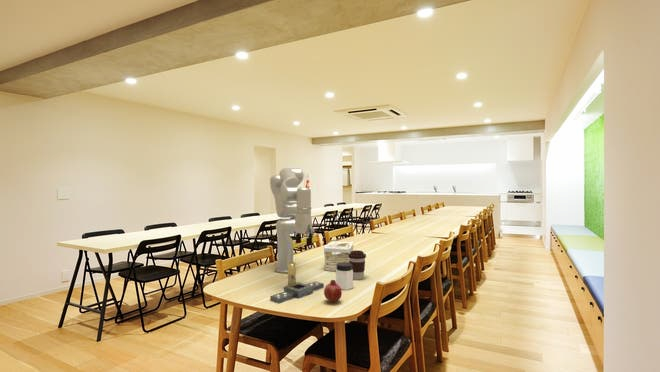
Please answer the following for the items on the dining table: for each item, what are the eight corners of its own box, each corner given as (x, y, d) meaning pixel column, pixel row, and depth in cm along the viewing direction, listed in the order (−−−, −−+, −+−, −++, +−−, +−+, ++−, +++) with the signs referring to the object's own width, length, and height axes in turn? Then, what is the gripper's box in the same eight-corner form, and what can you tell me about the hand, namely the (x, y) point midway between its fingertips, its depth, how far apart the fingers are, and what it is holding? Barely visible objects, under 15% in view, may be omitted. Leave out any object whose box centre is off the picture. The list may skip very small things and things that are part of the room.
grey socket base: (267, 299, 157) (267, 292, 157) (312, 284, 180) (312, 278, 180) (282, 304, 150) (282, 296, 150) (326, 288, 173) (326, 281, 173)
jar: (333, 289, 172) (333, 265, 172) (338, 284, 180) (338, 261, 180) (350, 290, 169) (350, 266, 169) (354, 285, 177) (354, 262, 177)
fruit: (333, 297, 159) (333, 276, 159) (345, 302, 153) (345, 280, 153) (320, 301, 154) (320, 279, 154) (332, 306, 148) (332, 283, 148)
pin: (286, 286, 176) (286, 263, 176) (292, 284, 179) (292, 261, 179) (291, 287, 174) (291, 264, 174) (297, 286, 177) (297, 263, 177)
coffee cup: (345, 279, 189) (345, 252, 189) (352, 274, 198) (352, 249, 198) (361, 281, 185) (361, 254, 185) (368, 277, 194) (368, 250, 193)
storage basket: (330, 262, 230) (330, 240, 229) (354, 263, 227) (354, 241, 227) (323, 271, 206) (323, 247, 206) (349, 272, 203) (349, 248, 203)
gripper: (288, 210, 181) (288, 243, 181) (307, 213, 168) (307, 247, 168) (300, 210, 186) (300, 241, 186) (319, 212, 172) (319, 245, 172)
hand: (303, 244), depth 177 cm, fingers open, 9 cm apart
